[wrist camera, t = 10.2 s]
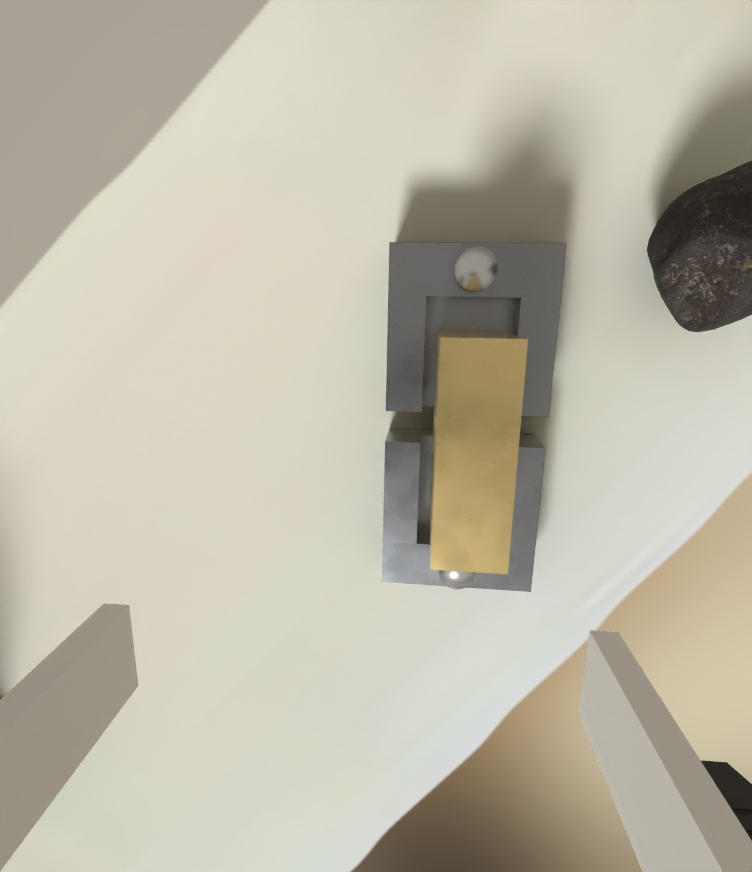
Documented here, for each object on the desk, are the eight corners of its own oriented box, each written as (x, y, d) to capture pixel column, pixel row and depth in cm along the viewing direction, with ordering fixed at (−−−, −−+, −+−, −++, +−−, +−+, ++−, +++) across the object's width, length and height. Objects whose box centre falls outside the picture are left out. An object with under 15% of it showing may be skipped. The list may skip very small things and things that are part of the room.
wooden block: (429, 505, 35) (430, 569, 27) (437, 329, 32) (440, 337, 24) (488, 508, 35) (507, 574, 26) (501, 330, 32) (528, 339, 23)
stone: (693, 301, 34) (897, 270, 25) (636, 360, 31) (845, 347, 23) (659, 186, 31) (876, 108, 23) (594, 240, 28) (814, 174, 20)
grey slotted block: (386, 557, 38) (381, 587, 34) (393, 249, 33) (388, 240, 29) (521, 566, 37) (533, 598, 33) (551, 250, 32) (570, 241, 28)
